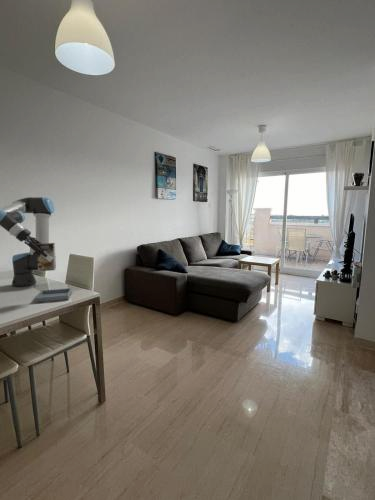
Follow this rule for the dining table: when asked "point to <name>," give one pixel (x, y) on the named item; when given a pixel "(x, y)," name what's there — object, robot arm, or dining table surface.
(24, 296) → the dining table surface
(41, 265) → the coffee box
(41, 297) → the tray
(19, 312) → the dining table surface
